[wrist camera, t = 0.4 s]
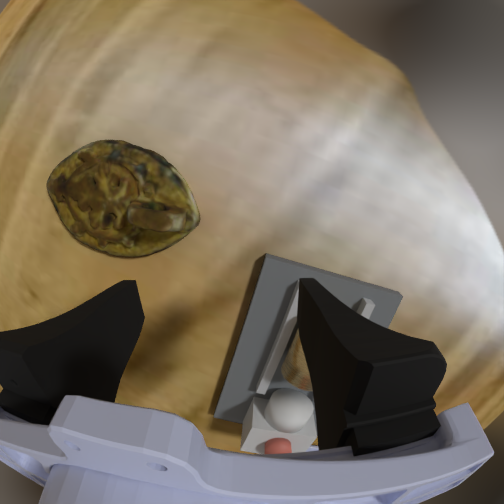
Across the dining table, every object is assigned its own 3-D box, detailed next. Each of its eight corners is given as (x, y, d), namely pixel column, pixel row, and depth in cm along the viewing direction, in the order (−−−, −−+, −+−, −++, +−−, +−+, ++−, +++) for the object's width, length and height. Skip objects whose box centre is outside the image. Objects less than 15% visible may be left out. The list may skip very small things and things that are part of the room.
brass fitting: (326, 366, 23) (327, 396, 20) (283, 354, 24) (278, 382, 20) (349, 319, 22) (356, 345, 18) (303, 305, 22) (302, 329, 19)
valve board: (319, 429, 28) (326, 470, 22) (215, 410, 27) (206, 453, 21) (398, 291, 23) (430, 325, 17) (266, 253, 22) (266, 283, 16)
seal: (57, 229, 24) (195, 265, 24) (27, 247, 20) (178, 294, 20) (60, 135, 20) (214, 153, 20) (25, 139, 16) (198, 157, 16)
